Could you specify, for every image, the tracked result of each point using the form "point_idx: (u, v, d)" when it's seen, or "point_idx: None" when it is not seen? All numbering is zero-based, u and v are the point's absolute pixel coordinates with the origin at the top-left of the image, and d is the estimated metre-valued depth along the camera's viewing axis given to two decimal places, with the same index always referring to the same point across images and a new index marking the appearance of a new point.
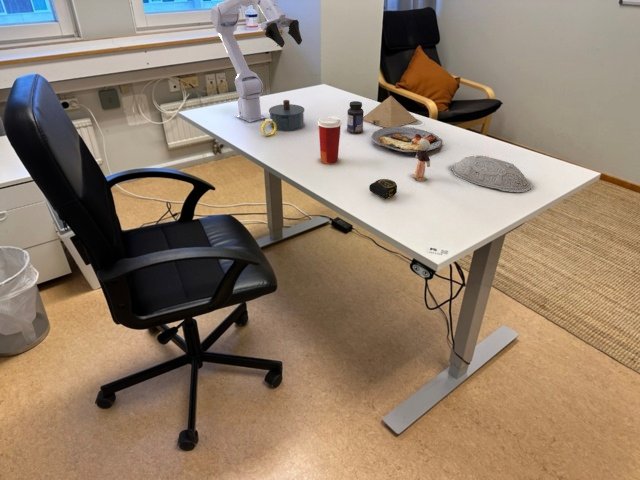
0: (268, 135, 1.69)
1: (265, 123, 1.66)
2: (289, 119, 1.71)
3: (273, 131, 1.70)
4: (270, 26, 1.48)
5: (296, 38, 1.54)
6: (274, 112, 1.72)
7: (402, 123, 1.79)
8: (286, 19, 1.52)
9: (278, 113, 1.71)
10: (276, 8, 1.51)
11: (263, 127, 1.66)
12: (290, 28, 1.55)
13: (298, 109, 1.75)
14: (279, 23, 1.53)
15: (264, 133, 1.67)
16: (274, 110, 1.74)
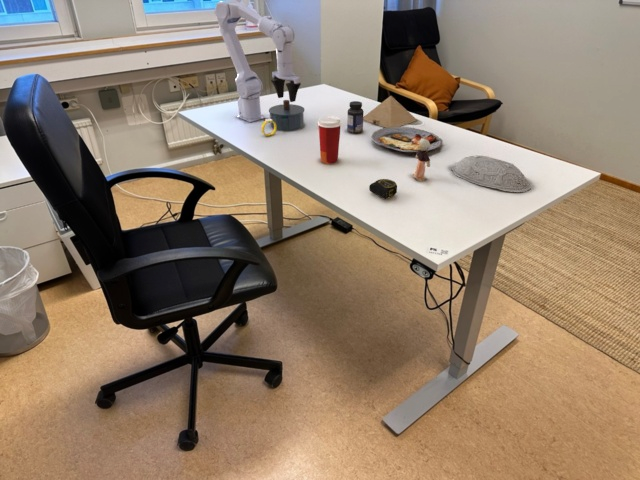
0: (268, 135, 1.69)
1: (265, 123, 1.66)
2: (289, 119, 1.71)
3: (273, 131, 1.70)
4: (299, 84, 1.67)
5: (280, 92, 1.74)
6: (274, 112, 1.72)
7: (402, 123, 1.79)
8: None
9: (278, 113, 1.71)
10: None
11: (263, 127, 1.66)
12: (279, 80, 1.72)
13: (298, 109, 1.75)
14: None
15: (264, 133, 1.67)
16: (274, 110, 1.74)
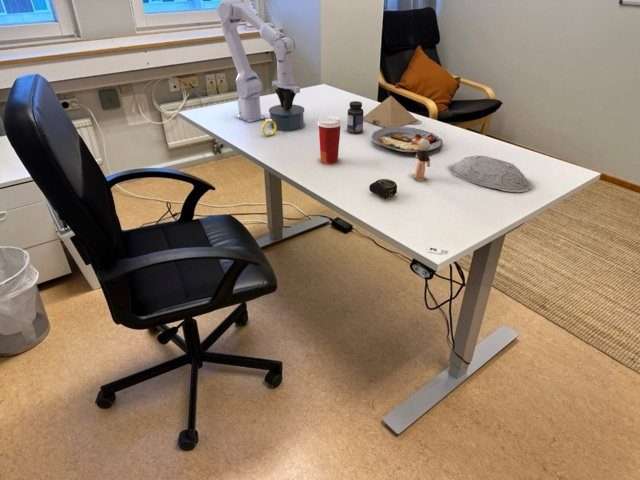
0: (268, 135, 1.69)
1: (265, 123, 1.66)
2: (289, 119, 1.71)
3: (273, 131, 1.70)
4: (295, 92, 1.70)
5: None
6: (274, 112, 1.72)
7: (402, 123, 1.79)
8: None
9: (278, 113, 1.71)
10: None
11: (263, 127, 1.66)
12: (283, 90, 1.72)
13: (298, 109, 1.75)
14: None
15: (264, 133, 1.67)
16: (274, 110, 1.74)
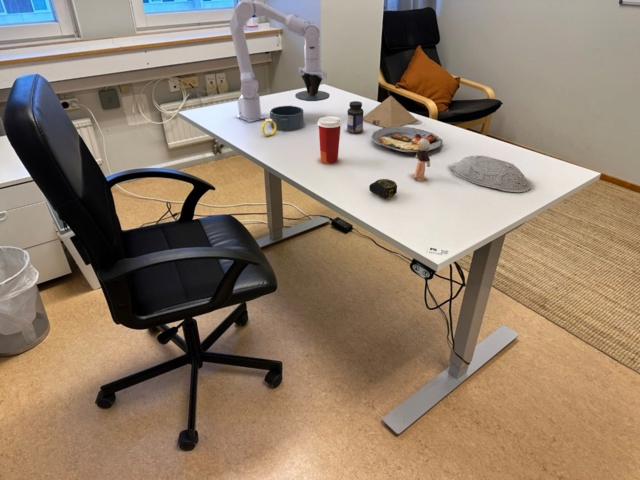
0: (268, 135, 1.69)
1: (265, 123, 1.66)
2: (289, 119, 1.71)
3: (273, 131, 1.70)
4: (322, 78, 1.76)
5: None
6: (301, 97, 1.78)
7: (402, 123, 1.79)
8: None
9: (305, 98, 1.77)
10: None
11: (263, 127, 1.66)
12: (309, 76, 1.78)
13: (323, 95, 1.81)
14: None
15: (264, 133, 1.67)
16: (300, 95, 1.80)
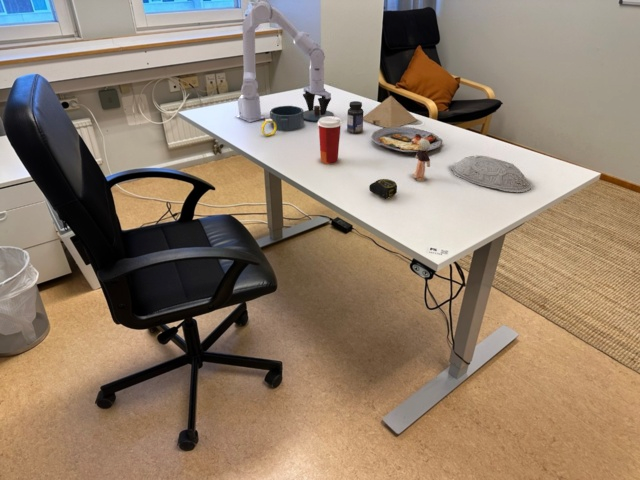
0: (268, 135, 1.69)
1: (265, 123, 1.66)
2: (289, 119, 1.71)
3: (273, 131, 1.70)
4: (330, 99, 1.81)
5: (310, 105, 1.88)
6: (306, 117, 1.84)
7: (402, 123, 1.79)
8: None
9: (309, 118, 1.83)
10: None
11: (263, 127, 1.66)
12: (310, 95, 1.86)
13: (327, 114, 1.87)
14: None
15: (264, 133, 1.67)
16: (305, 115, 1.86)
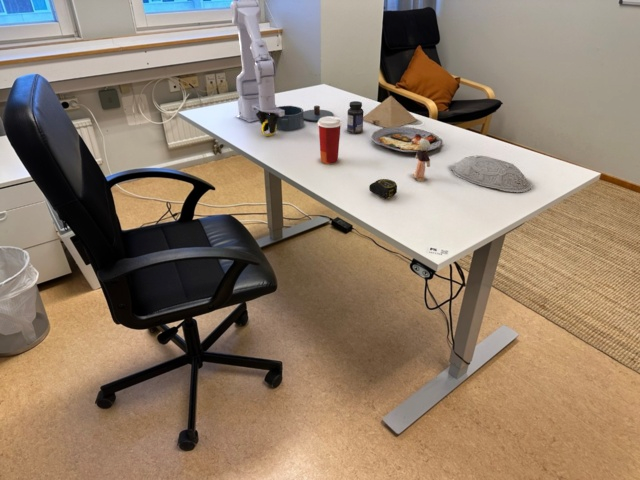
0: (268, 135, 1.69)
1: (265, 123, 1.66)
2: (289, 119, 1.71)
3: None
4: (279, 115, 1.65)
5: (265, 125, 1.68)
6: (306, 117, 1.84)
7: (402, 123, 1.79)
8: None
9: (309, 118, 1.83)
10: None
11: (263, 127, 1.66)
12: (264, 114, 1.66)
13: (327, 114, 1.87)
14: None
15: (264, 133, 1.67)
16: (305, 115, 1.86)
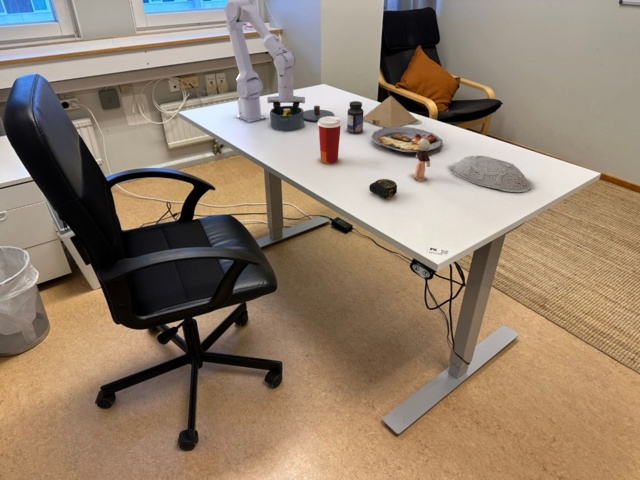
0: None
1: (286, 113, 1.74)
2: (289, 119, 1.71)
3: None
4: None
5: None
6: (306, 117, 1.84)
7: (402, 123, 1.79)
8: None
9: (309, 118, 1.83)
10: None
11: None
12: (279, 105, 1.74)
13: (327, 114, 1.87)
14: None
15: None
16: (305, 115, 1.86)
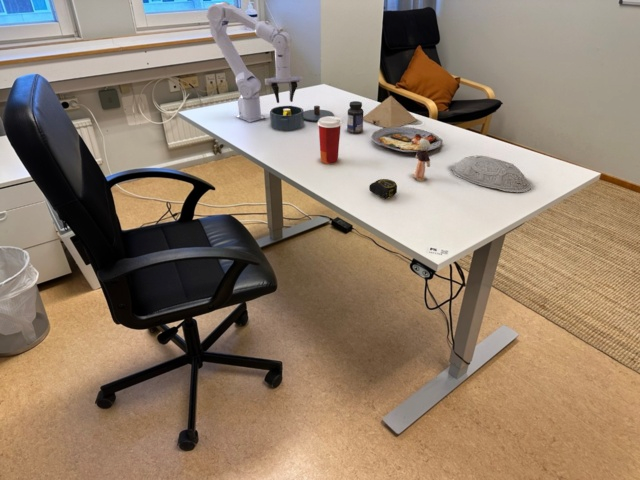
0: None
1: (286, 113, 1.74)
2: (289, 119, 1.71)
3: None
4: None
5: None
6: (306, 117, 1.84)
7: (402, 123, 1.79)
8: None
9: (309, 118, 1.83)
10: None
11: None
12: None
13: (327, 114, 1.87)
14: None
15: None
16: (305, 115, 1.86)
